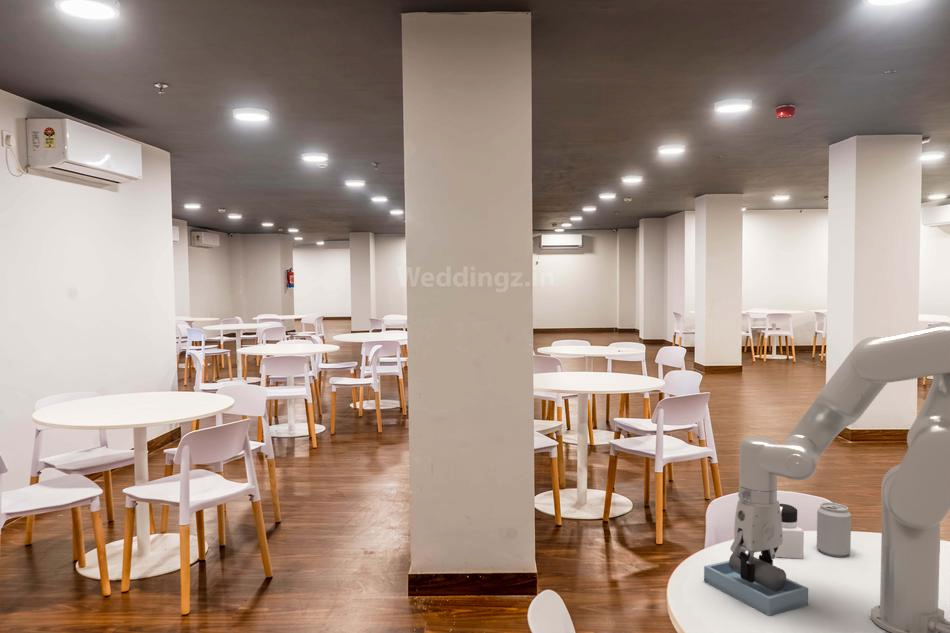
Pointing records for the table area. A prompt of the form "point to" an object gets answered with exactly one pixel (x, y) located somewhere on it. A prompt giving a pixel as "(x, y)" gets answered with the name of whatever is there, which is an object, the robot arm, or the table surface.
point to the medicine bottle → (790, 534)
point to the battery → (762, 573)
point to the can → (833, 529)
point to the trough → (756, 590)
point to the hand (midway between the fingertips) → (756, 576)
